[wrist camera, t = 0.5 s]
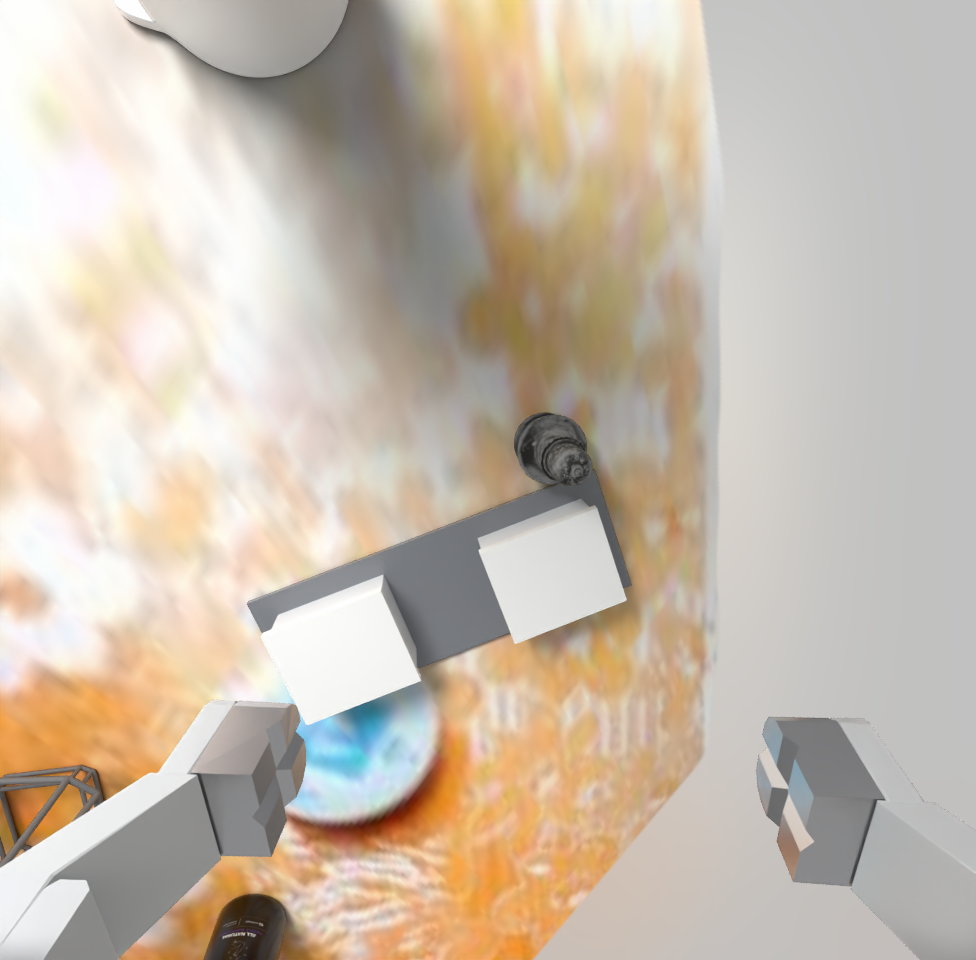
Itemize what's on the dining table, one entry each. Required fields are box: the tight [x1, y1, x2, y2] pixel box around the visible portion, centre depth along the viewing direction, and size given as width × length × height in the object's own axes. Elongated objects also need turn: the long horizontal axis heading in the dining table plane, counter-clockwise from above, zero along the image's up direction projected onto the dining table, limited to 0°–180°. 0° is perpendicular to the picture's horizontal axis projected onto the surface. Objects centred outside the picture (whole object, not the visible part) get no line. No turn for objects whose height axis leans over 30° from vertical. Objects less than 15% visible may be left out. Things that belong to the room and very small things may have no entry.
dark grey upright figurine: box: [514, 413, 592, 487], centre depth 48 cm, size 6×6×12 cm
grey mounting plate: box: [247, 469, 631, 725], centre depth 53 cm, size 12×33×5 cm, turn 110°
